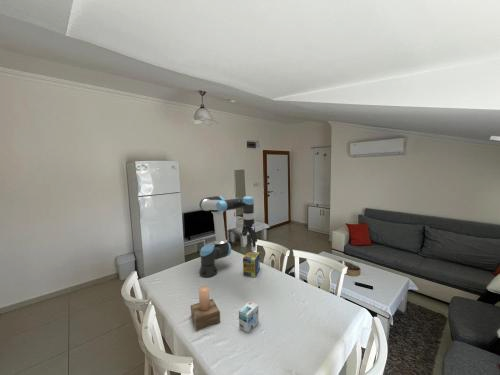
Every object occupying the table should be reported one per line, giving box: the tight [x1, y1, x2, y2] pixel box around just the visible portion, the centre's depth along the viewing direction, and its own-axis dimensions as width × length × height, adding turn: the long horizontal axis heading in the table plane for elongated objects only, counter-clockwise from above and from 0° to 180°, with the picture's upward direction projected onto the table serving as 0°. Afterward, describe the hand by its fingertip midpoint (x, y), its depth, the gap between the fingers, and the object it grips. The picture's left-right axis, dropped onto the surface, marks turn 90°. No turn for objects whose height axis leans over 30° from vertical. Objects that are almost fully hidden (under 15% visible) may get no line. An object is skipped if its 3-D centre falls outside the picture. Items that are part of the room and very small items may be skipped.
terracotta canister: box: [198, 285, 211, 311], centre depth 130 cm, size 6×6×12 cm
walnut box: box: [190, 298, 221, 331], centre depth 131 cm, size 14×14×7 cm
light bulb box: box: [238, 301, 260, 334], centre depth 125 cm, size 11×7×11 cm, turn 143°
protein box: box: [242, 250, 261, 279], centre depth 185 cm, size 10×15×16 cm
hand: (249, 247), depth 156 cm, fingers open, 13 cm apart
